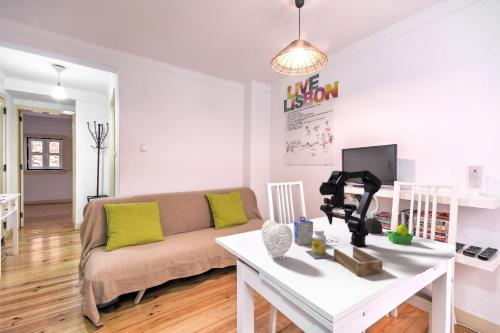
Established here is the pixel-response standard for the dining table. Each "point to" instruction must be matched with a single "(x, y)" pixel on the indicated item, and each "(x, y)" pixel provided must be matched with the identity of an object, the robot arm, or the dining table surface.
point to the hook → (374, 221)
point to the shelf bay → (365, 264)
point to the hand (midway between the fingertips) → (338, 223)
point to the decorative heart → (276, 238)
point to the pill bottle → (318, 242)
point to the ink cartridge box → (303, 231)
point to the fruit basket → (400, 235)
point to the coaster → (318, 255)
